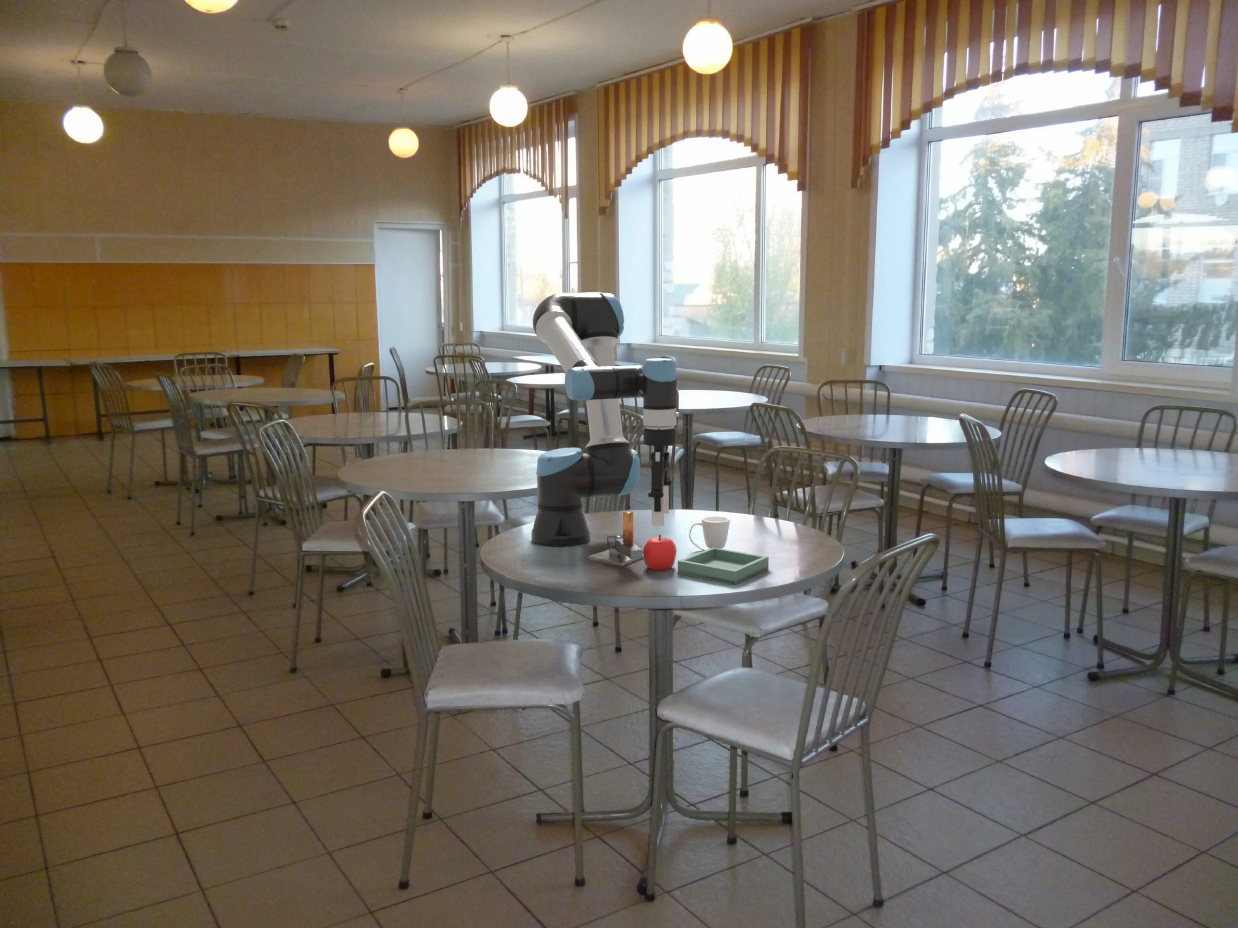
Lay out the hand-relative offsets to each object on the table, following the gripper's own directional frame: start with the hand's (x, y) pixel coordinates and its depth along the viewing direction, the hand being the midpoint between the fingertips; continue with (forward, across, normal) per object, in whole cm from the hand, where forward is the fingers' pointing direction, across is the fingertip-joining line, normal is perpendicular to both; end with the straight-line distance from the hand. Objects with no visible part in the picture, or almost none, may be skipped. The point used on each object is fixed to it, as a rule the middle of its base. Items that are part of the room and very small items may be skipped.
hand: (660, 519), depth 230 cm
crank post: (+11, +8, +11) cm, 18 cm away
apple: (+12, 0, 0) cm, 12 cm away
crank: (+8, +3, +9) cm, 12 cm away
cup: (+12, +17, -11) cm, 23 cm away
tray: (+12, -1, -14) cm, 19 cm away
